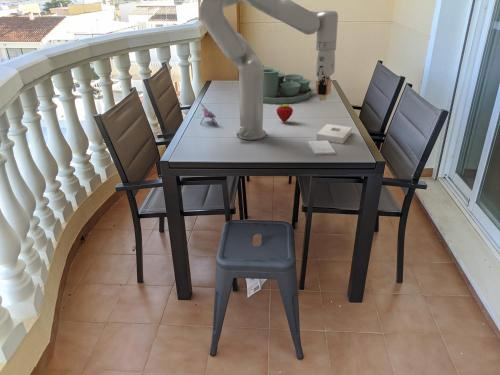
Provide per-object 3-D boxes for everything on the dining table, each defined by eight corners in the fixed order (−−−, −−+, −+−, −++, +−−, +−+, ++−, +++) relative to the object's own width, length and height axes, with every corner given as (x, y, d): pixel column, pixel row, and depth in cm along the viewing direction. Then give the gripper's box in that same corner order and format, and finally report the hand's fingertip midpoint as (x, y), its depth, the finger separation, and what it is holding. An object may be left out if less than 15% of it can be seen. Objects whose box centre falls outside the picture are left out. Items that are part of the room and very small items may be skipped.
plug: (327, 101, 163) (328, 81, 159) (315, 100, 165) (316, 80, 161) (330, 98, 166) (331, 79, 162) (318, 98, 168) (319, 78, 164)
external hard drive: (327, 144, 164) (335, 155, 153) (307, 144, 163) (314, 156, 152) (328, 140, 163) (336, 151, 152) (308, 140, 163) (314, 152, 152)
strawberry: (292, 124, 184) (293, 103, 179) (275, 123, 185) (276, 102, 180) (292, 120, 189) (293, 99, 184) (276, 119, 190) (277, 98, 185)
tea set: (320, 102, 216) (323, 71, 209) (246, 106, 211) (246, 74, 203) (300, 85, 251) (301, 57, 243) (236, 88, 245) (236, 60, 238)
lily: (215, 130, 180) (223, 110, 179) (190, 121, 178) (198, 100, 177) (214, 130, 192) (221, 111, 191) (191, 121, 190) (198, 101, 189)
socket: (342, 143, 162) (343, 137, 161) (316, 139, 167) (316, 133, 165) (351, 133, 173) (351, 127, 172) (326, 129, 178) (327, 123, 176)
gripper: (329, 49, 148) (326, 99, 156) (341, 43, 161) (338, 88, 169) (309, 48, 151) (308, 97, 159) (323, 42, 164) (320, 87, 172)
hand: (323, 92), depth 164 cm, fingers closed on plug, 4 cm apart
